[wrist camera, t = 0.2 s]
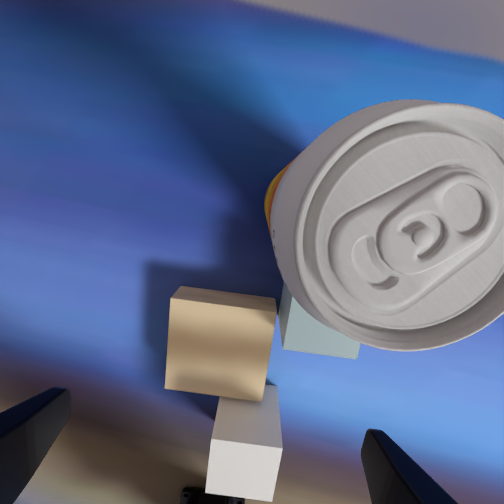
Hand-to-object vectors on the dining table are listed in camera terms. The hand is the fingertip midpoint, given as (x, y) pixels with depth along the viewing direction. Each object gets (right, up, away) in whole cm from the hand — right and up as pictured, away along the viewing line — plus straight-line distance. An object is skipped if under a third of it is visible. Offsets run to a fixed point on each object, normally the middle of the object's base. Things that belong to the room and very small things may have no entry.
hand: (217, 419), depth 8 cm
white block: (+1, -9, +17) cm, 19 cm away
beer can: (+5, +9, +12) cm, 16 cm away
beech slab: (-1, -2, +15) cm, 16 cm away
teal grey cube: (+6, +2, +14) cm, 15 cm away
